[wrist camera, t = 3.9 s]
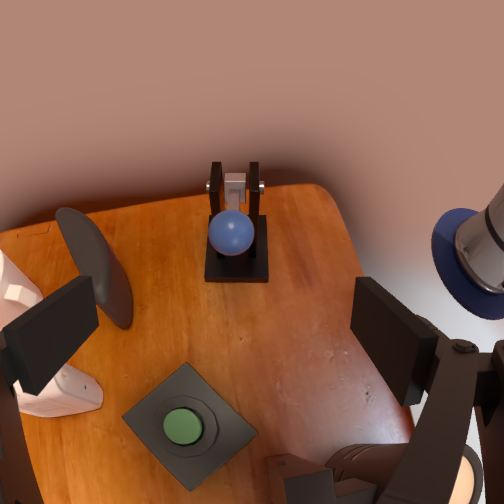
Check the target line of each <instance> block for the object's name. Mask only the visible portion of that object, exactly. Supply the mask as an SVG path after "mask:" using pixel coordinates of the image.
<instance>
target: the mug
mask: <svg viewBox="0 0 504 504" xmlns="http://www.w3.org/2000/svg"><path fill="white" fill-rule="evenodd" d="M43 299H44V298H43V295H42V293H41V291H40V289H39V288H38V287H37V286H36V285H35V284H34V283H33V282H32V281H31V280H30V279H29V278H28V277H27V276H26V275H25V274H24V273H23V272H22V271H21V270H20V269H19V268H18V267H17V266H16V265H15V264H14V263H13V262H12V261H11V260H10V259H9V258H8V257H7V256H6V255H5V254H4V253H3V252H2V251H1V250H0V331H1V330H2V328H3V327H5V326H6V325H7V324H9V323H10V322H11V321H13V320H14V319H16V318H17V317H19V316H20V315H21V314H23V313H24V312H26V311H27V310H28V309H30V308H31V307H33V306H34V305H36V304H37V303H39V302H40V301H42V300H43Z"/></svg>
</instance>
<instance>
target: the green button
mask: <svg viewBox="0 0 504 504" xmlns="http://www.w3.org/2000/svg"><path fill="white" fill-rule="evenodd" d="M163 427H164V431H165V434H166V435H167V437H168V438H169V439H170V440H172V441H173V442H176V443H179V444H188V443H192V442H194V441H196V440H197V439H198V438H199V437H200V435H201V433H202V422H201V420H200V418H199V417H198V416H197V415H196V414H195V413H193V412H191V411H189V410H186V409H176V410H173V411H171V412H170V413H169V414H168V415H167V416H166V417H165V420H164V424H163Z"/></svg>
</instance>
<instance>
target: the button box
mask: <svg viewBox="0 0 504 504" xmlns="http://www.w3.org/2000/svg"><path fill="white" fill-rule="evenodd" d="M176 409H186V410H189V411H191V412H193V413H195V414H196V415H197V416H198V417H199V418H200V420H201V422H202V433H201V435H200V437H199V438H198V439H197V440H196V441H194V442H192V443H188V444H179V443H176V442H173V441H172V440H170V439H169V438H168V437H167V435H166V434H165V431H164V427H163V424H164V420H165V417H166V416H167V415H168V414H169V413H170V412H171V411H173V410H176ZM122 418H123V419H124V421H125V422H126V423H127V424H128V426H129V427H130V428H131V429H132V430H133V432H134V433H135V434H136V435H137V436H138V438H139V439H140V440H141V441H142V442H143V443H144V445H145V446H146V447H147V448H148V449H149V450H150V451H151V452H152V454H153V455H154V456H155V457H156V458H157V459H158V460H159V461H160V462H161V463H162V464H163V465H164V466H165V467H166V469H167V470H168V471H169V472H170V473H171V474H172V475H173V476H174V477H175V478H176V479H177V480H178V481H179V482H180V483H181V484H182V485H183V486H184V487H185V488H186V489H187V490H189V491H190V492H191V491H192V490H193V489H194V488H196V487H197V486H198V485H199V484H201V483H202V482H203V481H204V480H206V479H207V478H208V477H209V476H210V475H212V474H213V473H214V472H215V471H216V470H218V469H219V468H220V467H221V466H222V465H223V464H225V463H226V462H227V461H228V460H229V459H230V458H231V457H233V456H234V455H235V454H236V453H237V452H238V451H239V450H240V449H241V448H243V447H244V446H245V445H246V444H247V443H248V442H249V441H250V440H251V439H252V438H253V437H254V436H256V435H257V434H258V431H257V430H256V429H254V428H253V427H252V426H251V425H250V424H249V423H248V422H247V421H246V420H245V419H244V418H243V417H241V416H240V415H239V414H238V413H237V412H236V411H235V410H234V409H233V408H232V407H231V406H230V405H229V404H228V403H227V402H226V401H225V400H224V399H223V398H222V397H221V396H220V395H219V394H218V393H217V392H216V391H215V390H214V389H213V388H212V387H211V386H210V385H209V384H208V383H207V382H206V381H205V380H204V379H203V378H202V377H201V376H200V375H199V374H198V373H197V372H196V371H195V370H194V369H193V368H192V367H191V365H190V364H189V363H188V362H185V363H184V364H183V365H182V366H181V367H180V368H178V369H177V370H176V371H175V372H174V373H173V374H172V375H170V376H169V377H168V378H167V379H166V380H165V381H163V382H162V383H161V384H160V385H159V386H158V387H156V388H155V389H154V390H153V391H152V392H151V393H149V394H148V395H147V396H146V397H145V398H143V399H142V400H141V401H140V402H139V403H138V404H136V405H135V406H134V407H133V408H132V409H130V410H129V411H128V412H127V413H126V414H124V415H123V416H122Z"/></svg>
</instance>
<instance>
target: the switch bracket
mask: <svg viewBox="0 0 504 504" xmlns="http://www.w3.org/2000/svg"><path fill="white" fill-rule="evenodd" d="M249 175H250V176H249V215H247V216H248V217H249V218H250V220H251V221H252V223H253V226H254V239H253V242H252V244H251V245H250V247H249V248H248V249H247V250H246V251H244V252H243V253H241V254H238V255H234V256H229V255H224V254H222V253H220V252H218V251H217V250H216V249H215V248H214V247H213V246H212V244H211V242H210V240H209V236H208V238H207V250H206V263H205V276H204V278H205V282H268V279H269V274H268V248H267V223H266V215H259V202H260V194H264V182H263V181H260V175H259V162H250V172H249ZM206 192H207V194H209V197H210V206H211V214H212V215H209V225H210V223H211V221H212V219H213V218H214V217H215V216H216V215H217V214H218V213H220V212H222V211H225V208H224V194H223V180H222V164H221V162H212V167H211V176H210V181H207V183H206ZM208 229H209V226H208Z"/></svg>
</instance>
